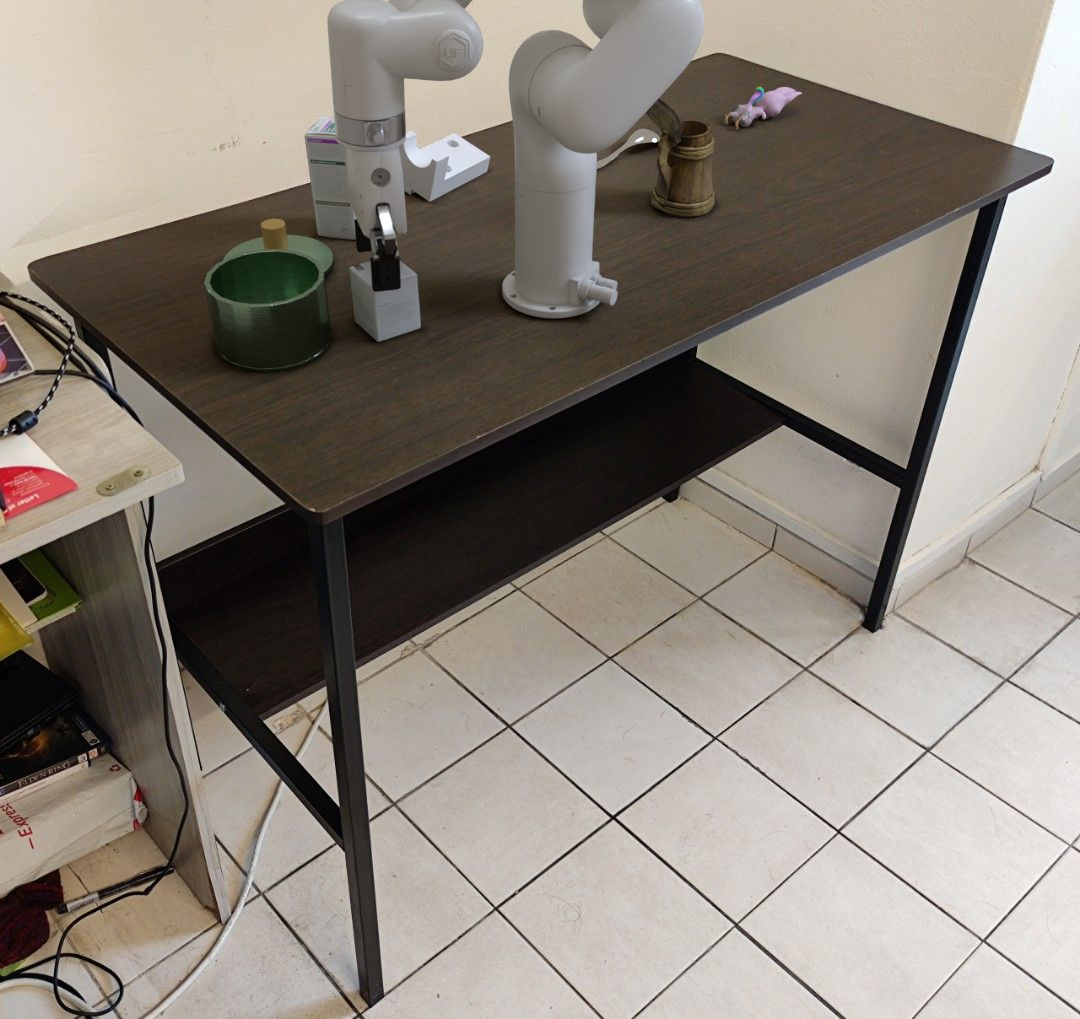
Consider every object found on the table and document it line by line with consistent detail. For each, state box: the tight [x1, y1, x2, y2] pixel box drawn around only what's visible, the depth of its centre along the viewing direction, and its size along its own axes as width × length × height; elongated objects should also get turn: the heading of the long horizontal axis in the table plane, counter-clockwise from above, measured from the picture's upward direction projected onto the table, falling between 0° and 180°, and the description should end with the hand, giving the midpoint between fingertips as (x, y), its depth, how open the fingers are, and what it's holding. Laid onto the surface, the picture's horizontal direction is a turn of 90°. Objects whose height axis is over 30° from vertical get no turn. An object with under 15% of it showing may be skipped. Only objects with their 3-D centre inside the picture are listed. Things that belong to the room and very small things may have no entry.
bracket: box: [399, 130, 491, 203], centre depth 171 cm, size 13×7×8 cm, turn 143°
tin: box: [203, 249, 332, 373], centre depth 137 cm, size 13×13×8 cm
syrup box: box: [303, 116, 357, 241], centre depth 157 cm, size 6×6×14 cm
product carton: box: [348, 260, 422, 343], centre depth 140 cm, size 6×6×7 cm
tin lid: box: [222, 218, 334, 276], centre depth 151 cm, size 14×14×6 cm
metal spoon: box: [597, 128, 661, 170], centre depth 179 cm, size 20×4×5 cm
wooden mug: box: [645, 98, 716, 218], centre depth 162 cm, size 9×14×18 cm, turn 134°
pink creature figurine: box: [723, 86, 803, 131], centre depth 192 cm, size 6×6×15 cm
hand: (378, 269), depth 137 cm, fingers open, 9 cm apart
